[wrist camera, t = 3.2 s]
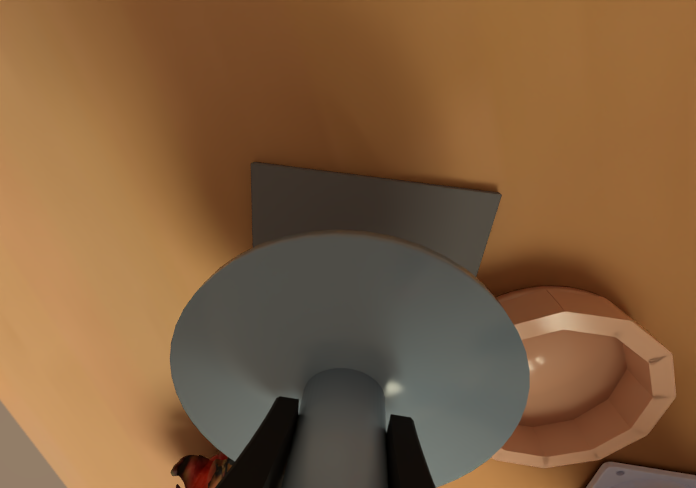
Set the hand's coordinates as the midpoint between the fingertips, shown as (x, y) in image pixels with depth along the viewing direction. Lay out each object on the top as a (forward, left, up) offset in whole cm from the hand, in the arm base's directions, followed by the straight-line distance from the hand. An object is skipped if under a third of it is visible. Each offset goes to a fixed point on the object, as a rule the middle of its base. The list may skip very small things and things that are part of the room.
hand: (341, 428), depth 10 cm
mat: (0, 0, -9) cm, 9 cm away
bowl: (-11, +4, -9) cm, 15 cm away
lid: (0, 0, -2) cm, 2 cm away
